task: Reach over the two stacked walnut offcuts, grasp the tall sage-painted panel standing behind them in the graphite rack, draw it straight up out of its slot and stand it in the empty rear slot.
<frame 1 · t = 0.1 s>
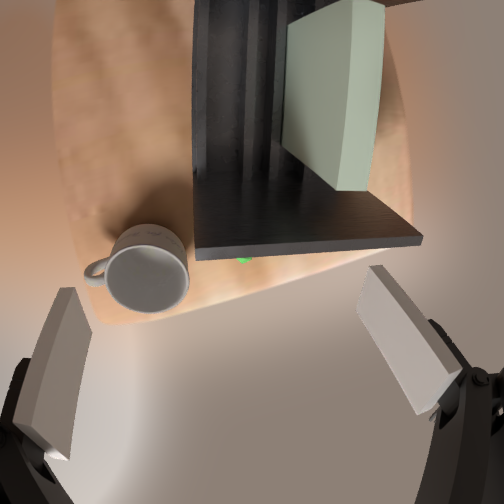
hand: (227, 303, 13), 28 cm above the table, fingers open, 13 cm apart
sage panel: (286, 84, 32), point 1 cm above the table, touching rack
teacup: (140, 247, 42), on the table
rack: (283, 84, 33), on the table
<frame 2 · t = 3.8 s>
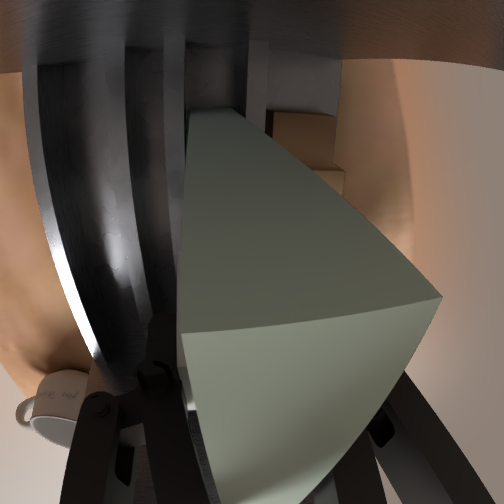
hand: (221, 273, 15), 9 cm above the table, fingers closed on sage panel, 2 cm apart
offcut lower: (289, 194, 22), point 1 cm above the table, touching offcut upper, rack
sage panel: (211, 210, 21), point 1 cm above the table, touching gripper, rack
teacup: (70, 381, 31), on the table
offcut upper: (295, 225, 21), point 3 cm above the table, touching offcut lower
rack: (210, 202, 22), on the table
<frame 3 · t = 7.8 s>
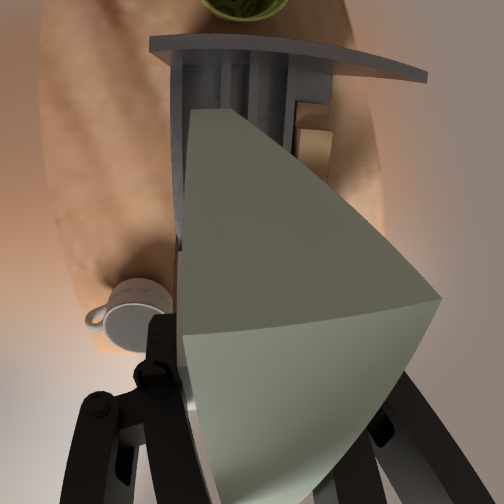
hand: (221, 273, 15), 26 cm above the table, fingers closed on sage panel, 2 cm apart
offcut lower: (303, 147, 37), point 1 cm above the table, touching offcut upper, rack
plant pot: (233, 1, 27), on the table
sage panel: (211, 210, 21), point 19 cm above the table, touching gripper
teacup: (133, 294, 46), on the table
offcut upper: (307, 162, 37), point 3 cm above the table, touching offcut lower
rack: (258, 151, 38), on the table
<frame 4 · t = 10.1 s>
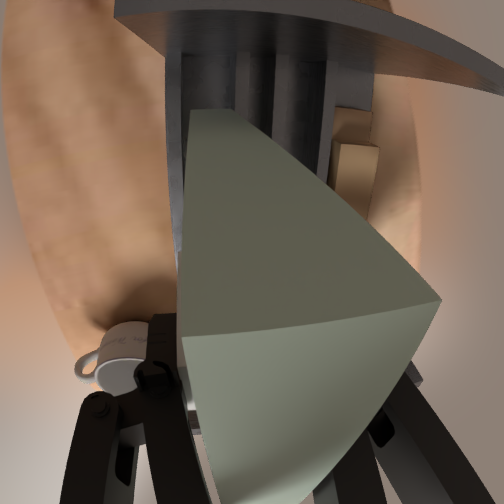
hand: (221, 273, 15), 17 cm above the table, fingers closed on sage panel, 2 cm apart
offcut lower: (338, 164, 29), point 1 cm above the table, touching offcut upper, rack
sage panel: (211, 210, 21), point 9 cm above the table, touching gripper
teacup: (129, 335, 39), on the table
offcut upper: (344, 185, 28), point 3 cm above the table, touching offcut lower
rack: (280, 168, 30), on the table
when the fingers open (10 cm above the table, at t = 11.8 s): sage panel drops 1 cm, resting on rack.
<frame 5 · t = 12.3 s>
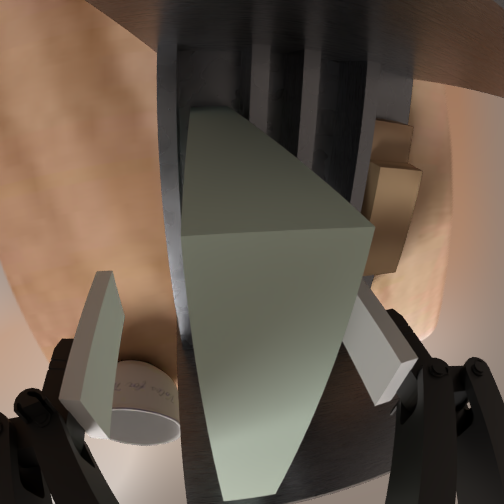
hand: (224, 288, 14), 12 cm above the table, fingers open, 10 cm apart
offcut lower: (368, 188, 24), point 1 cm above the table, touching offcut upper, rack
sage panel: (209, 201, 22), point 1 cm above the table, touching rack
teacup: (125, 373, 33), on the table
offcut upper: (377, 214, 23), point 3 cm above the table, touching offcut lower
rack: (301, 192, 25), on the table
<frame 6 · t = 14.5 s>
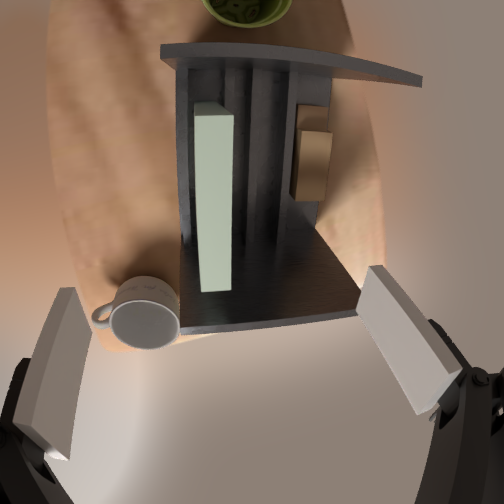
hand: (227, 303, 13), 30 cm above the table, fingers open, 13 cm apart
offcut lower: (304, 148, 39), point 1 cm above the table, touching offcut upper, rack
plant pot: (235, 7, 29), on the table
sage panel: (204, 155, 37), point 1 cm above the table, touching rack
teacup: (139, 292, 48), on the table
offcut upper: (308, 163, 38), point 3 cm above the table, touching offcut lower
rack: (260, 152, 40), on the table
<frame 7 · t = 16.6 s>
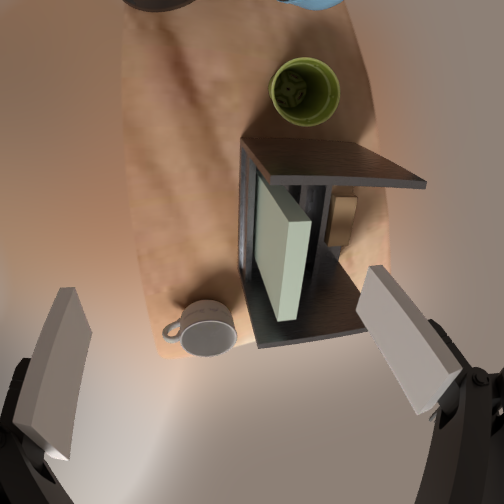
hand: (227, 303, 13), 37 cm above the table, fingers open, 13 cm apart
offcut lower: (334, 204, 52), point 1 cm above the table, touching offcut upper, rack
plant pot: (287, 89, 42), on the table
sage panel: (261, 211, 50), point 1 cm above the table, touching rack
teacup: (197, 311, 61), on the table
offcut upper: (337, 217, 51), point 3 cm above the table, touching offcut lower
rack: (301, 206, 53), on the table
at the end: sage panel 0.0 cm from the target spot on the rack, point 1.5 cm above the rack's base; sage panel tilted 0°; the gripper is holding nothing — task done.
